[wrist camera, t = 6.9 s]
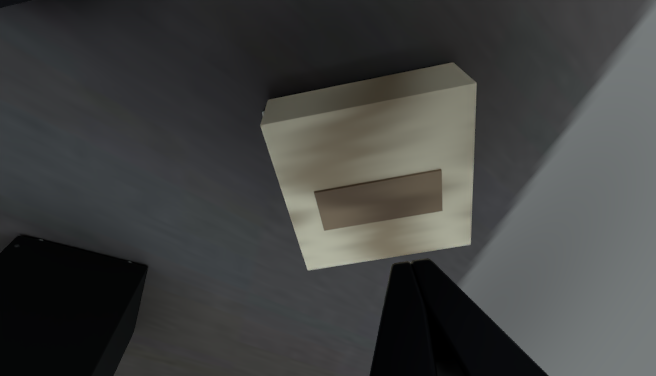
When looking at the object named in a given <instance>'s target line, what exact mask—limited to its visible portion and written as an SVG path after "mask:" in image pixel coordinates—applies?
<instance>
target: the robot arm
mask: <svg viewBox="0 0 656 376" xmlns="http://www.w3.org/2000/svg"><path fill="white" fill-rule="evenodd" d="M27 1H31V0H0V8H2V7H6V6H10V5H14V4H18V3H22V2H27ZM370 376H548V375H547V374H546V373H545V372H544V371H543V370H542V369H541V368H540V367H539V366H538V365H537V364H536V363H535V362H534V361H533V360H532V359H531V358H530V357H529V356H528V355H527V354H526V353H525V352H524V351H523V350H522V349H521V348H520V347H519V346H518V345H517V344H516V343H515V342H514V341H513V340H512V339H511V338H510V337H509V336H508V335H507V334H506V333H505V332H504V331H503V330H502V329H501V328H500V327H499V326H498V325H497V324H496V323H495V322H494V321H493V320H492V319H491V318H489V316H488V315H486V314H485V313H484V312H483V311H482V310H481V309H480V308H479V307H478V306H477V305H476V304H475V303H474V302H473V301H472V300H471V299H470V298H469V297H468V296H467V295H466V294H465V293H464V292H463V291H462V290H461V289H460V288H459V287H458V286H457V285H456V284H455V283H454V282H453V281H452V280H451V279H450V278H449V277H448V276H447V275H446V274H445V273H444V272H443V271H442V270H441V269H440V268H439V267H438V266H437V265H436V264H435V263H434V262H433V261H432V260H430V259H428V258H426V259H419V260H413V261H412V262H411V263H410V262H408V261H406V262H399V263H394V264H392V266H391V271H390V276H389V281H388V286H387V291H386V296H385V301H384V306H383V311H382V316H381V321H380V326H379V331H378V336H377V341H376V346H375V351H374V356H373V361H372V366H371V371H370Z"/></svg>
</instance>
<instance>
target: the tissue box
mask: <svg viewBox="0 0 656 376" xmlns="http://www.w3.org/2000/svg"><path fill="white" fill-rule="evenodd" d="M146 273H147V267H144V266H140V265H136V264H134V263H132V262H126V261H122V260H118V259H114V258H110V257H106V256H102V255H98V254H94V253H90V252H86V251H82V250H78V249H74V248H70V247H66V246H62V245H58V244H54V243H50V242H46V241H43V240H40V239H39V240H38V239H34V238H33V239H31V238H27V237H23V236H18V237H16V238H15V239H14V240H13V241H12V242H11V243H10V244H9V245H8V246H7V247H6V248H5V249H4V250H3V251H2V252H1V253H0V376H114V373H115V371H116V369H117V367H118V365H119V363H120V360H121V358H122V356H123V354H124V352H125V349H126V348H127V345H128V343H129V341H130V339H131V337H132V334H133V332H134V328H135V324H136V319H137V314H138V310H139V305H140V300H141V296H142V291H143V287H144V282H145V277H146Z"/></svg>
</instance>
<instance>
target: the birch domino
mask: <svg viewBox="0 0 656 376" xmlns="http://www.w3.org/2000/svg"><path fill="white" fill-rule="evenodd" d="M476 90H477V83H476V82H475V81H474V80H473V79H472V78H471V77H469V76H468V75H467V74H466V73H465V72H464V71H463V70H461V69H460V68H459V67H458V66H457V65H456V64H455V63H453V62H452V63H447V64H442V65H437V66H432V67H427V68H422V69H417V70H412V71H408V72H403V73H398V74H393V75H388V76H383V77H378V78H373V79H368V80H363V81H358V82H353V83H348V84H343V85H338V86H333V87H328V88H324V89H319V90H314V91H309V92H304V93H299V94H294V95H289V96H284V97H279V98H274V99H269V100H268V101H267V104H266V108H265V111H264V114H263V118H262V121H261V124H260V126H261V130H262V133H263V136H264V139H265V142H266V145H267V148H268V151H269V154H270V157H271V160H272V163H273V166H274V169H275V172H276V175H277V178H278V181H279V184H280V187H281V190H282V193H283V197H284V200H285V203H286V206H287V209H288V212H289V215H290V218H291V221H292V224H293V227H294V230H295V233H296V236H297V239H298V242H299V245H300V248H301V251H302V254H303V257H304V260H305V264H306V267H307V270H314V269H320V268H327V267H333V266H339V265H346V264H352V263H358V262H364V261H371V260H377V259H383V258H389V257H396V256H402V255H408V254H415V253H421V252H427V251H433V250H440V249H446V248H452V247H459V246H465V245H471V220H472V194H473V168H474V142H475V116H476Z"/></svg>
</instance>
